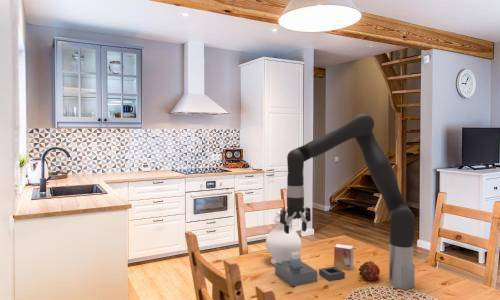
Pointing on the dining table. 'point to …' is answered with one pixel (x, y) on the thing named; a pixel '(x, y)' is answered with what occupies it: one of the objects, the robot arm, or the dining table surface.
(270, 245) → the decorative vase
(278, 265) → the port
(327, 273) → the holster
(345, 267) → the small box
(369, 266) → the dragon fruit
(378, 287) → the dining table surface
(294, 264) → the plug
